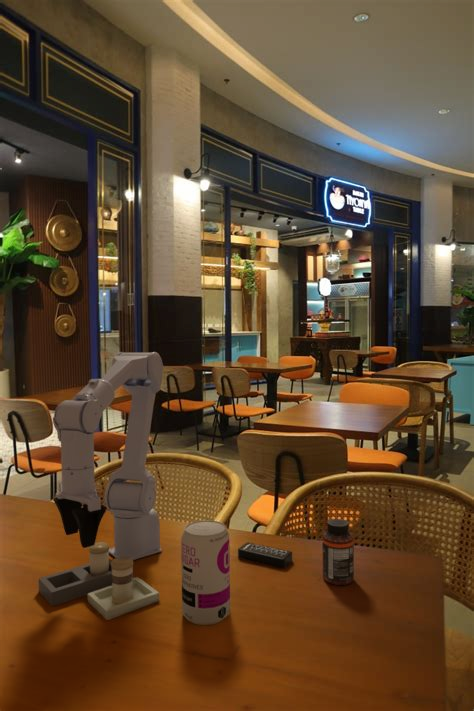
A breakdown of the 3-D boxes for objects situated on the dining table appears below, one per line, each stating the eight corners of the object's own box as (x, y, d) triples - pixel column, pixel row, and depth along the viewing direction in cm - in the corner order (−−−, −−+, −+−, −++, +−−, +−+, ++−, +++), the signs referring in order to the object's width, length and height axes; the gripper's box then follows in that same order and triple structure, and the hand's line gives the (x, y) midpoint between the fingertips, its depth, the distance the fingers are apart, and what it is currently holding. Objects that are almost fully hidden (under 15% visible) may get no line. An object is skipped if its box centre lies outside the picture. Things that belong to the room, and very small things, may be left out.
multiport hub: (284, 570, 108) (284, 559, 108) (237, 559, 114) (237, 548, 114) (293, 562, 112) (293, 551, 112) (247, 552, 118) (247, 541, 117)
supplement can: (236, 605, 94) (235, 521, 93) (220, 630, 86) (218, 539, 85) (194, 598, 96) (193, 517, 96) (174, 622, 89) (172, 533, 88)
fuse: (104, 575, 106) (103, 540, 106) (113, 582, 103) (112, 546, 103) (86, 580, 104) (85, 545, 104) (94, 588, 101) (93, 551, 101)
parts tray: (137, 584, 102) (137, 577, 102) (159, 600, 96) (158, 592, 96) (87, 601, 96) (87, 593, 96) (107, 620, 90) (107, 611, 89)
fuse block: (108, 569, 108) (108, 557, 108) (124, 582, 103) (124, 569, 103) (38, 591, 100) (38, 578, 100) (52, 606, 94) (51, 592, 94)
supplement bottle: (323, 571, 107) (323, 515, 106) (353, 573, 106) (353, 517, 105) (321, 585, 101) (321, 526, 101) (353, 587, 100) (354, 528, 99)
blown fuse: (127, 592, 98) (127, 554, 98) (137, 600, 95) (136, 561, 95) (108, 598, 96) (107, 560, 96) (117, 607, 93) (116, 567, 93)
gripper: (42, 462, 100) (44, 533, 101) (71, 478, 89) (73, 558, 89) (78, 456, 105) (80, 524, 105) (111, 471, 93) (112, 547, 94)
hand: (79, 539), depth 98 cm, fingers open, 7 cm apart
